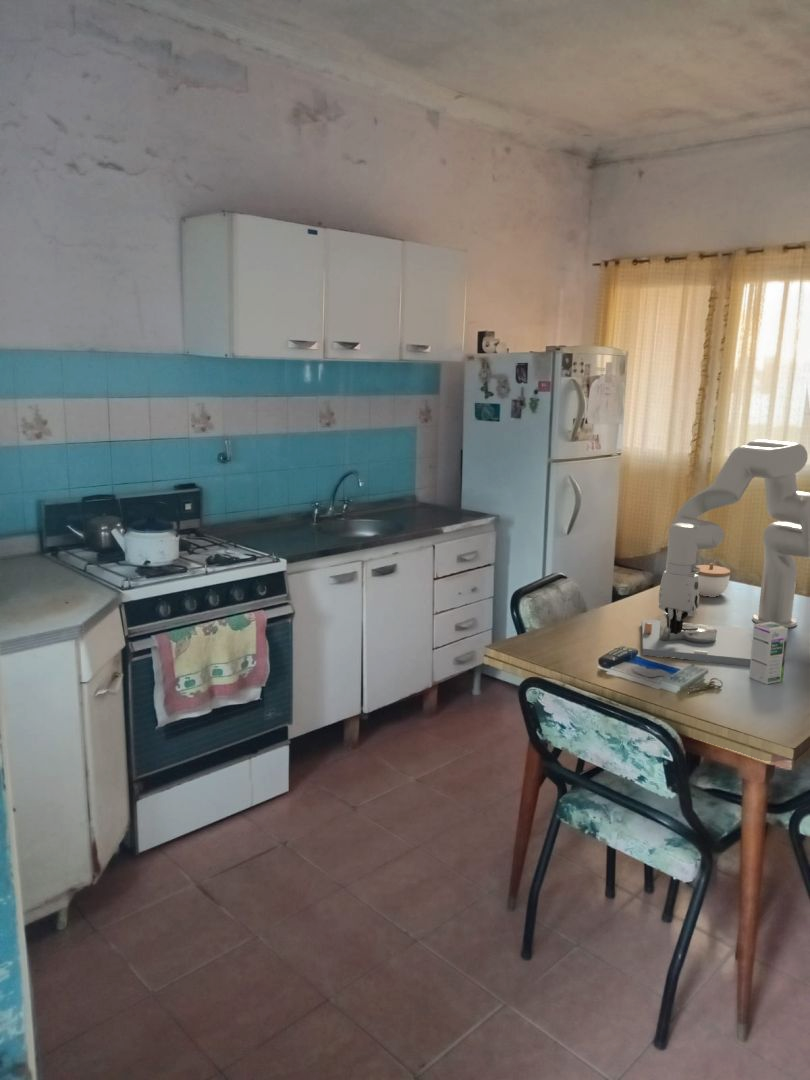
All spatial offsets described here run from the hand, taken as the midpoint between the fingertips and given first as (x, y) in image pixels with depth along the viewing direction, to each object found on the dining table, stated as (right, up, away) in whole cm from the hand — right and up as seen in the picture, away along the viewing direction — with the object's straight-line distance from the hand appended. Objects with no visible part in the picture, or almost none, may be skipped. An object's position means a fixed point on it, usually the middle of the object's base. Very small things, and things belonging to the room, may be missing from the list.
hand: (675, 632), depth 228 cm
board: (+8, -4, +6) cm, 11 cm away
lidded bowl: (+31, +6, +59) cm, 67 cm away
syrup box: (+17, -10, -19) cm, 27 cm away
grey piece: (+5, -2, +6) cm, 8 cm away
